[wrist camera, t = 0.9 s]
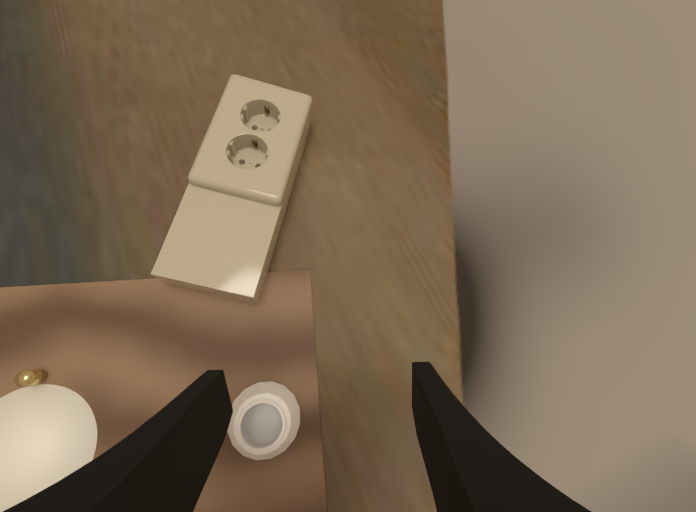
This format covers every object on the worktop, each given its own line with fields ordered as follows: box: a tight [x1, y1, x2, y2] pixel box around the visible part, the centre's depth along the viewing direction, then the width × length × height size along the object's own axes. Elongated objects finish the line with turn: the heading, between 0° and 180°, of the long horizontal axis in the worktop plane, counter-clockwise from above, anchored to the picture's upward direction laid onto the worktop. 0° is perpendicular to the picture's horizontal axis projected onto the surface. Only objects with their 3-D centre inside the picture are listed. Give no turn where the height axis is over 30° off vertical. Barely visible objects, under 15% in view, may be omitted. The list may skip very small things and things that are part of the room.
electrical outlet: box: [151, 74, 312, 305], centre depth 27 cm, size 7×4×18 cm
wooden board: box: [0, 269, 327, 512], centre depth 22 cm, size 22×28×2 cm
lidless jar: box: [227, 381, 300, 460], centre depth 23 cm, size 5×3×5 cm
